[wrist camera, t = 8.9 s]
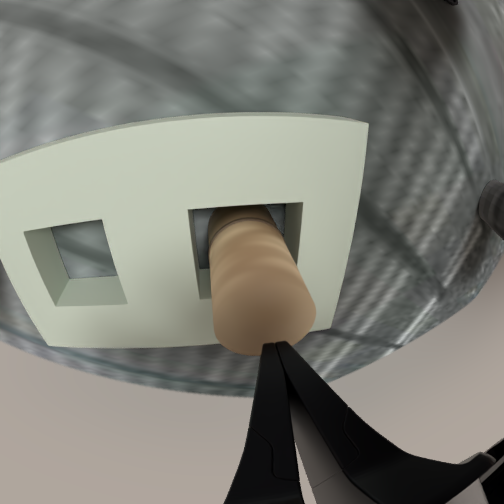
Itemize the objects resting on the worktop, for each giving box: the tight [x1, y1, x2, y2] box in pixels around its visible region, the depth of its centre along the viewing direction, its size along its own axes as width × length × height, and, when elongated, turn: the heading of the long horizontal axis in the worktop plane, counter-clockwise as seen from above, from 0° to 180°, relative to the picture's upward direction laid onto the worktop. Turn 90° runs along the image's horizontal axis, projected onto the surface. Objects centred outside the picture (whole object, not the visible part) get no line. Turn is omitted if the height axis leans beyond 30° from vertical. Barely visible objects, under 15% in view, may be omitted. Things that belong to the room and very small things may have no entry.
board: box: [0, 112, 369, 348], centre depth 15 cm, size 22×14×3 cm, turn 90°
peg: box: [208, 204, 316, 356], centre depth 14 cm, size 4×4×8 cm
